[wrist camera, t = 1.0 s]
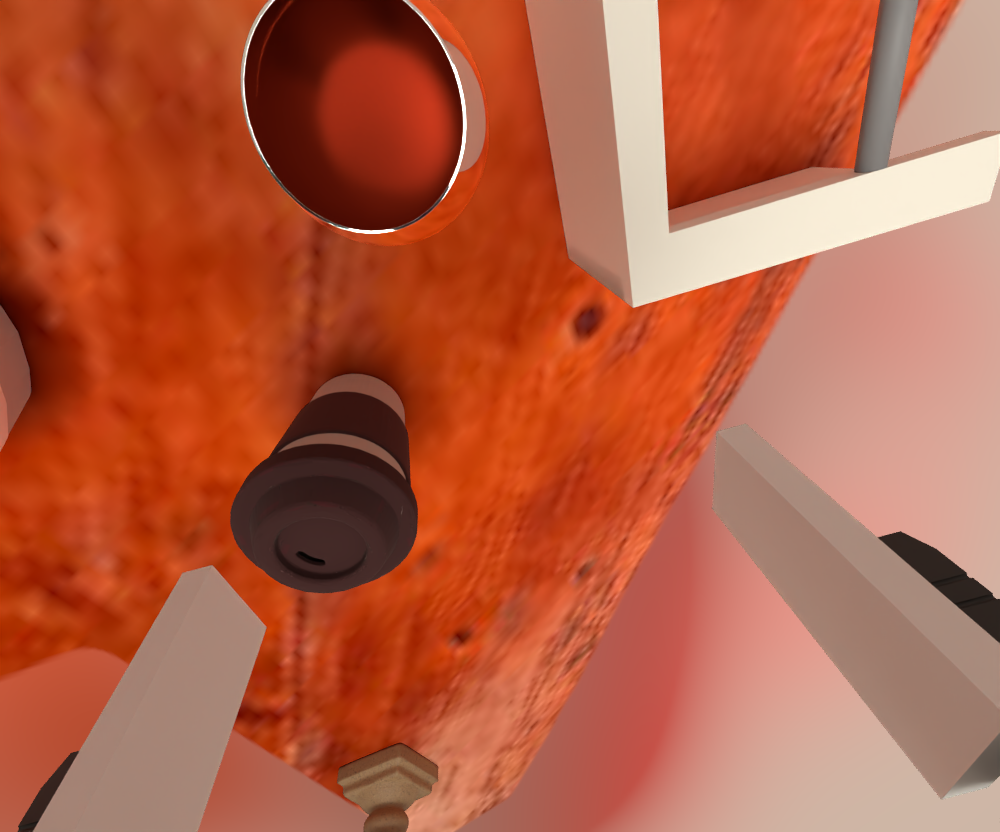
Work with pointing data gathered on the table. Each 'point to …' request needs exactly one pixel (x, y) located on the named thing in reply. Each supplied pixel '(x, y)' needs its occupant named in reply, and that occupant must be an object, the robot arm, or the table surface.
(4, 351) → the bowl
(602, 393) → the table surface
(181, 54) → the table surface
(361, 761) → the candle holder
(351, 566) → the coffee cup
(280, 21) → the wineglass
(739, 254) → the white c-frame
